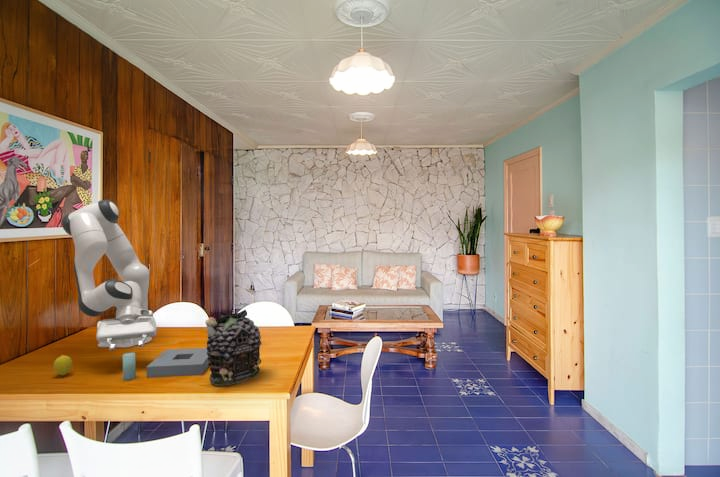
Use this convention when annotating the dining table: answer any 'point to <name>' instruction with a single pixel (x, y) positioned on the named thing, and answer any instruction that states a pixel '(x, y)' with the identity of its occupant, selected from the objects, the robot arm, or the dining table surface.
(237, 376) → the decorative house
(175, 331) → the dining table surface
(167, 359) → the cutout board
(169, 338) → the dining table surface
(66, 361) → the lemon
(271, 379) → the dining table surface
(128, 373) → the peg
